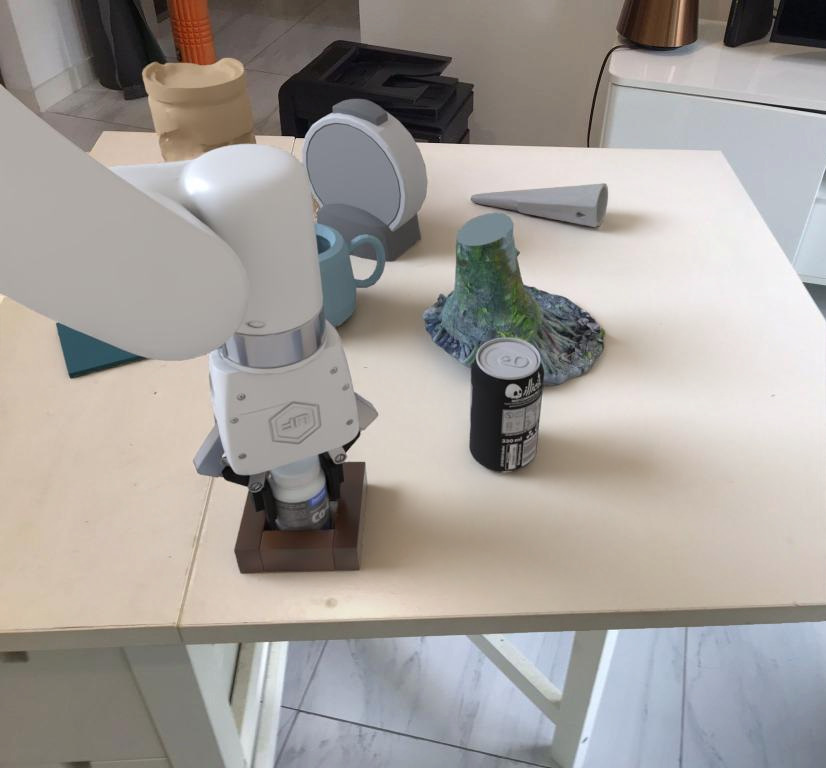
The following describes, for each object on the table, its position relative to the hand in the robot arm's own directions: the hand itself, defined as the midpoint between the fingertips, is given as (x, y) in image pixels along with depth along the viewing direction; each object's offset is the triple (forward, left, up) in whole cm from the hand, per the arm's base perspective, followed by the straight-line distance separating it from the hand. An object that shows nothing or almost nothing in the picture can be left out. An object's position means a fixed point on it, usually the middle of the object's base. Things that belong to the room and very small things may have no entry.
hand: (299, 498), depth 68 cm
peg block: (0, 0, -4) cm, 4 cm away
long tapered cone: (+49, +41, -4) cm, 64 cm away
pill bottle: (0, 0, -4) cm, 4 cm away
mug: (+13, +30, -4) cm, 33 cm away
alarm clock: (+24, +44, -4) cm, 50 cm away
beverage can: (+20, 0, -4) cm, 20 cm away
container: (+9, +63, -4) cm, 64 cm away
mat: (-10, +35, -4) cm, 37 cm away
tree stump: (+30, +15, -4) cm, 34 cm away
